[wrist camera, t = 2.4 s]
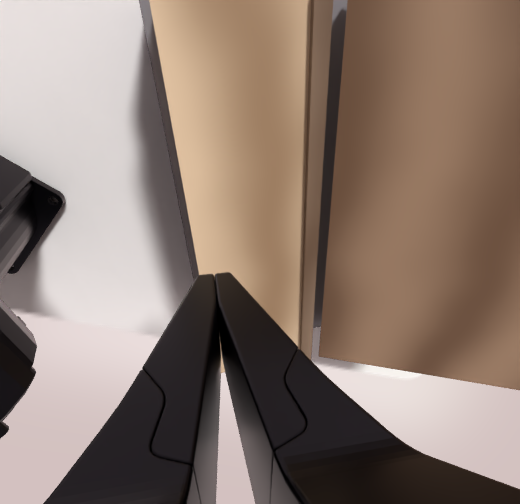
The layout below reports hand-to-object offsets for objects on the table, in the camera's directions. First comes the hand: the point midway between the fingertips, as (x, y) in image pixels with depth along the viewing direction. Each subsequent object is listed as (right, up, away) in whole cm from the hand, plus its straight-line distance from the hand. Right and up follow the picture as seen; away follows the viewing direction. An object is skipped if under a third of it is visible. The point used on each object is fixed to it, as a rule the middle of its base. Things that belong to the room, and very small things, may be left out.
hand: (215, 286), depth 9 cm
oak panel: (+1, +3, +8) cm, 8 cm away
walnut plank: (+11, +3, +7) cm, 13 cm away
